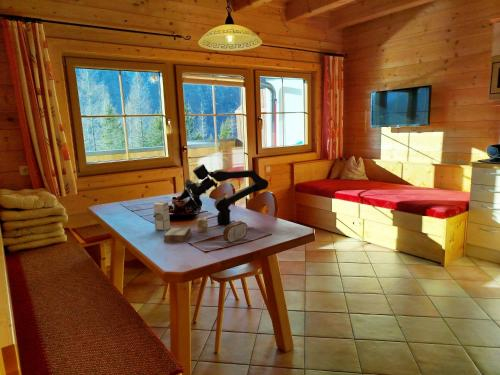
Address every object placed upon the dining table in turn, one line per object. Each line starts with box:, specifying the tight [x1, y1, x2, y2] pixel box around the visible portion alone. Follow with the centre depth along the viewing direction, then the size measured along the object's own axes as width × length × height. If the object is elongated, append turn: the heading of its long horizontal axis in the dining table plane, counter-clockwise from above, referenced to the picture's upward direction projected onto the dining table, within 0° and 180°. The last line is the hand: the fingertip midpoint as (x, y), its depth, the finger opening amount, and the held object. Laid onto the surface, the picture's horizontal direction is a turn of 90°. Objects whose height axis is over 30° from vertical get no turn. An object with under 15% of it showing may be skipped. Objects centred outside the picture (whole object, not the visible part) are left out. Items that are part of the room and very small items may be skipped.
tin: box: [222, 220, 248, 244], centre depth 162 cm, size 15×3×8 cm, turn 141°
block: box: [196, 217, 209, 233], centre depth 178 cm, size 4×4×6 cm
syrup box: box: [153, 201, 171, 231], centre depth 182 cm, size 6×6×14 cm
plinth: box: [163, 227, 192, 243], centre depth 167 cm, size 10×12×3 cm
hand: (179, 203), depth 182 cm, fingers open, 9 cm apart
